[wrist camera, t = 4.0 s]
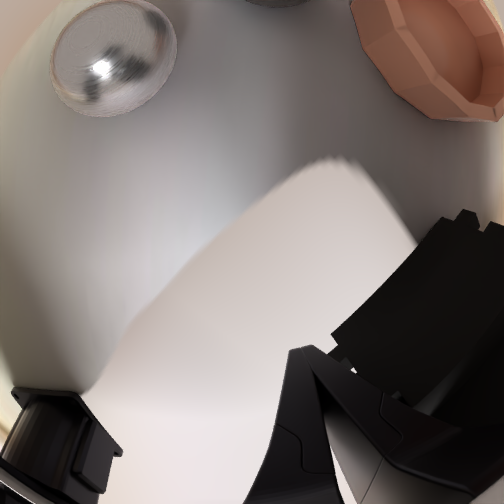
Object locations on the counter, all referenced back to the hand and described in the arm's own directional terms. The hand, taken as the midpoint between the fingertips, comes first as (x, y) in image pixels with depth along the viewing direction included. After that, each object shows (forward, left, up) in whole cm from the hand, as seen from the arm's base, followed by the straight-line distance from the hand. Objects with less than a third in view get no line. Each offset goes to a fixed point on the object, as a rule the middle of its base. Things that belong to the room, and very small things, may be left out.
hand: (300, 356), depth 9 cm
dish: (+9, +11, -3) cm, 15 cm away
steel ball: (-4, +10, -1) cm, 11 cm away
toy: (+9, 0, -3) cm, 9 cm away
